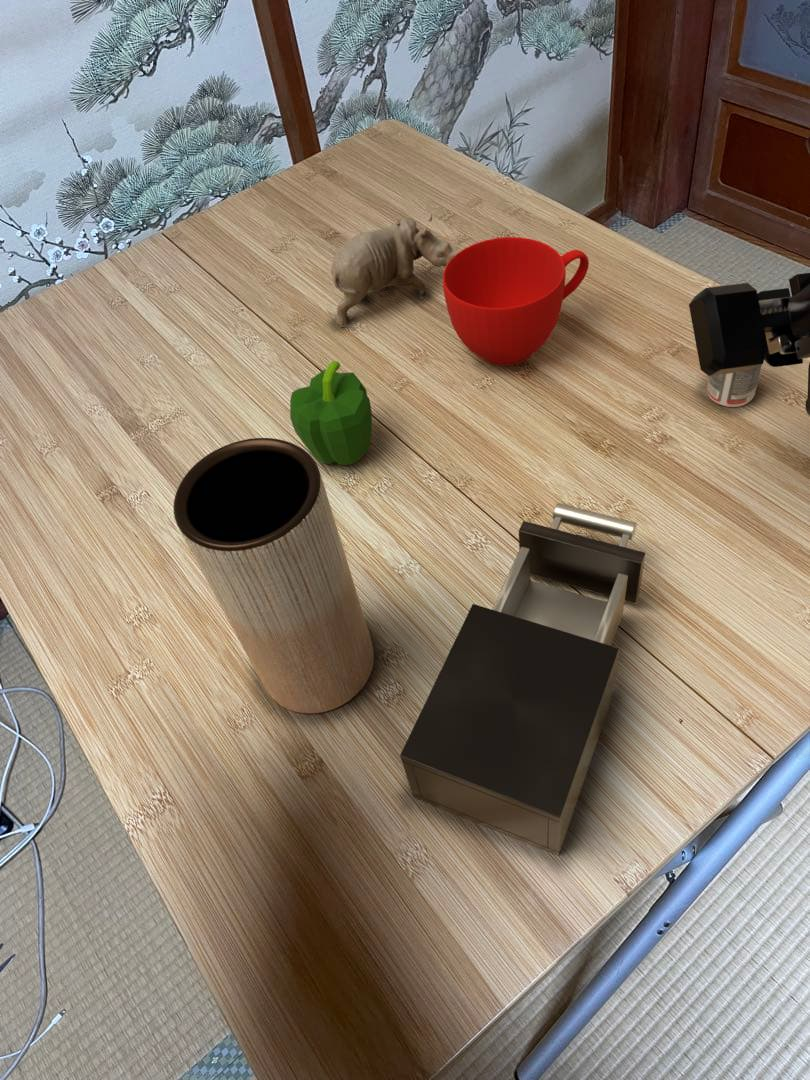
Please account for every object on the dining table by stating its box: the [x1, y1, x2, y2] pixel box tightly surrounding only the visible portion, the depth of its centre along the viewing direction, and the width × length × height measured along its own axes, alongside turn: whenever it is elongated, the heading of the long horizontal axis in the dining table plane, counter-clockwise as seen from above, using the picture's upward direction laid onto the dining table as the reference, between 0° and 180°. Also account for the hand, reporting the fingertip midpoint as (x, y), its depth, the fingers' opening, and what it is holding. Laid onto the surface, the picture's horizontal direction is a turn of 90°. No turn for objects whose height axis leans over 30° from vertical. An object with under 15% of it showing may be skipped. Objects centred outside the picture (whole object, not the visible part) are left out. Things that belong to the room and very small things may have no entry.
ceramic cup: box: [442, 236, 590, 367], centre depth 92 cm, size 13×17×10 cm
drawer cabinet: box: [399, 603, 620, 856], centre depth 63 cm, size 14×12×8 cm
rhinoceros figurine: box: [330, 214, 461, 328], centre depth 101 cm, size 8×14×15 cm
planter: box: [172, 437, 375, 714], centre depth 64 cm, size 10×10×23 cm
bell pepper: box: [289, 360, 373, 466], centre depth 85 cm, size 8×8×10 cm
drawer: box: [492, 502, 646, 646], centre depth 69 cm, size 17×10×6 cm, turn 155°
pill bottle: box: [706, 364, 763, 408], centre depth 83 cm, size 5×5×8 cm
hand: (756, 350), depth 71 cm, fingers closed
